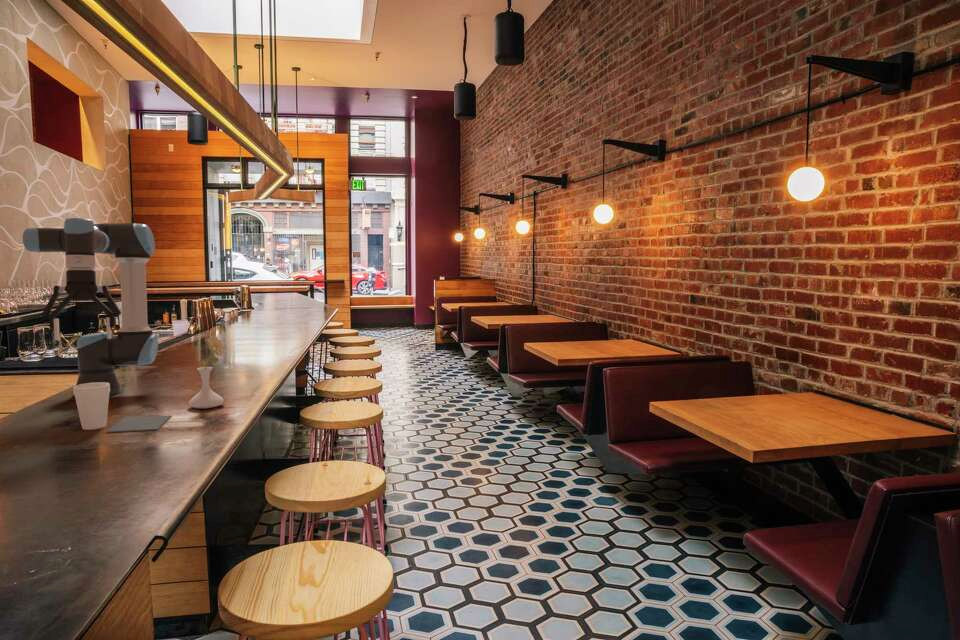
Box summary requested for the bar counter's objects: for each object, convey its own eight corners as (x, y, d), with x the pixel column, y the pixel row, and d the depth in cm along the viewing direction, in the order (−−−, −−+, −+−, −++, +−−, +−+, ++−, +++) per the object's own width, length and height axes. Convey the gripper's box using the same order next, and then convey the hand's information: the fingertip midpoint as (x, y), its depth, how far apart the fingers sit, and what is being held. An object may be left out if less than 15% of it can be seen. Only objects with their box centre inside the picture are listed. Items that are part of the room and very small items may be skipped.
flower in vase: (201, 412, 205) (198, 339, 203) (181, 408, 211) (178, 336, 209) (235, 404, 216) (232, 335, 214) (215, 400, 222) (212, 332, 220)
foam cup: (118, 424, 190) (116, 383, 189) (89, 432, 182) (86, 389, 180) (99, 421, 194) (96, 381, 193) (69, 428, 186) (66, 386, 184)
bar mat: (124, 418, 197) (124, 417, 197) (171, 416, 200) (171, 415, 200) (106, 432, 181) (106, 431, 181) (157, 430, 184) (157, 428, 184)
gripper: (27, 269, 177) (30, 341, 178) (126, 269, 187) (128, 338, 188) (35, 269, 184) (37, 340, 185) (129, 270, 194) (131, 337, 194)
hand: (83, 339), depth 186 cm, fingers open, 13 cm apart
